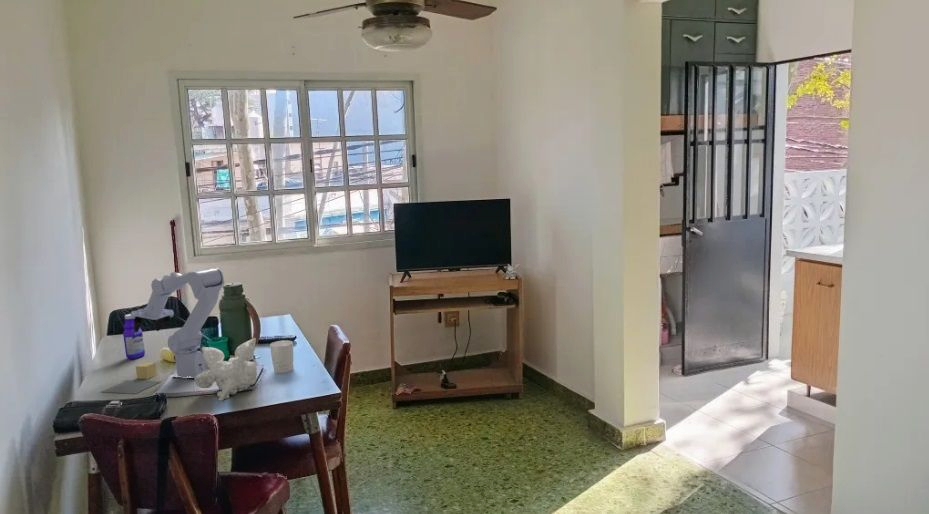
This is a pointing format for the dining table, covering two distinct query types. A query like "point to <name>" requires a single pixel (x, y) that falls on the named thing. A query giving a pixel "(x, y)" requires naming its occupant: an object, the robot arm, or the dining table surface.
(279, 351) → the white cup
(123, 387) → the placemat
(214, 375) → the white lumpy sculpture
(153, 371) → the block
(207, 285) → the robot arm
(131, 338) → the bottle
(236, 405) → the dining table surface
